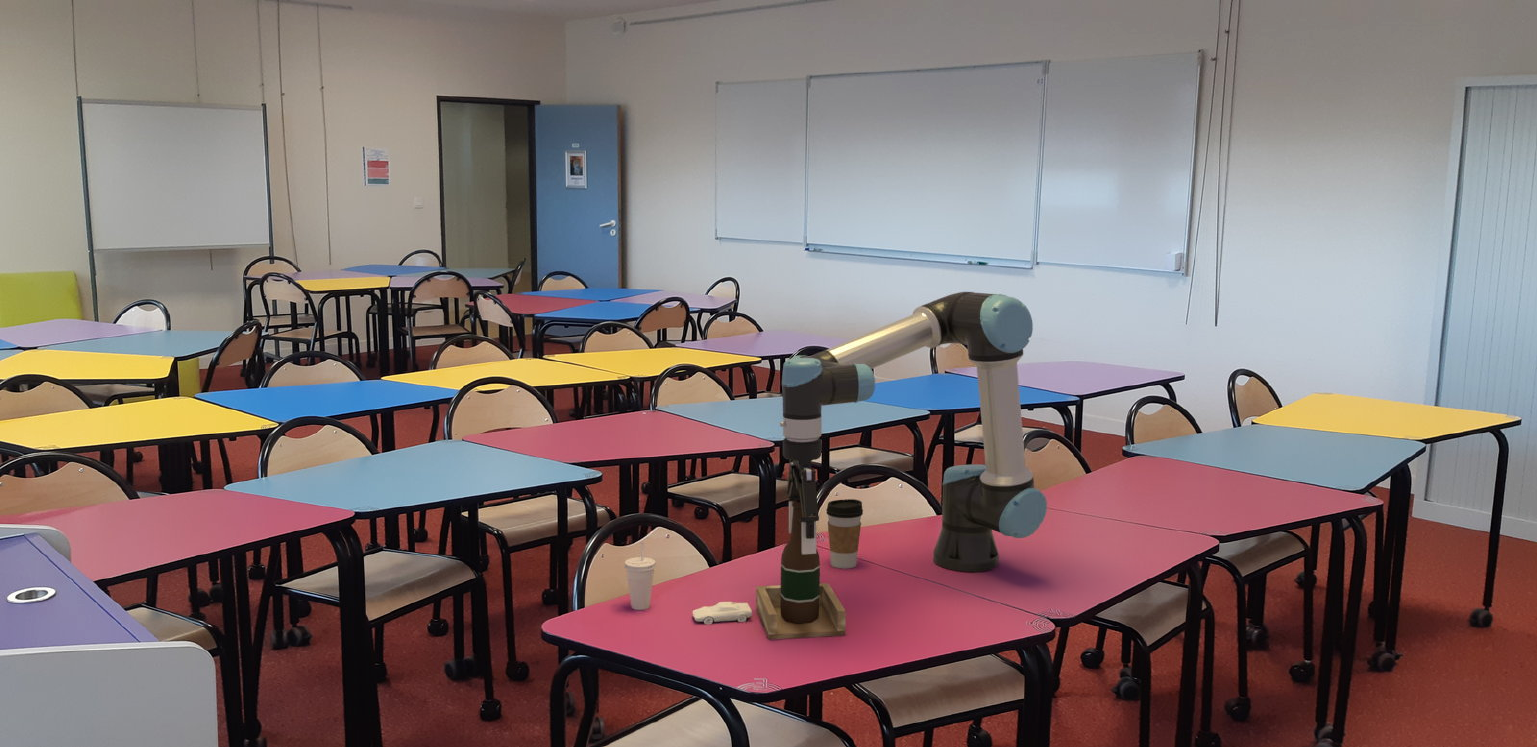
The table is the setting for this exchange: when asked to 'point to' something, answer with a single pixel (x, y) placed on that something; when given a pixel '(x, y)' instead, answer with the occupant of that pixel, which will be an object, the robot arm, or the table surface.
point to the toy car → (723, 612)
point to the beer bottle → (799, 576)
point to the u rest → (824, 625)
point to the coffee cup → (844, 531)
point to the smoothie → (640, 580)
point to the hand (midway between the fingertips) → (802, 542)
